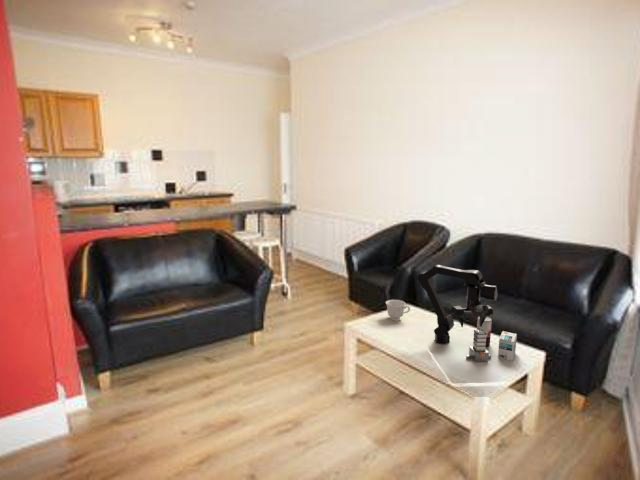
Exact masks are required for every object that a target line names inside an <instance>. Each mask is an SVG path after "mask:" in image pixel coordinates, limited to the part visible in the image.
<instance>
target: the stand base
mask: <svg viewBox="0 0 640 480" xmlns="http://www.w3.org/2000/svg"><path fill="white" fill-rule="evenodd" d="M468 348H469V349H468V351H469V352H468V354H466V355H465V359H466V360H472V361H473V363H488V362H489V360H491V359H492V355H491V354H490V351H488V350H487V349H486V351H485V352H476V351H475V350H474V349H473V345H472V346H469V347H468Z"/></svg>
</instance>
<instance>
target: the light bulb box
mask: <svg viewBox="0 0 640 480" xmlns="http://www.w3.org/2000/svg"><path fill="white" fill-rule="evenodd" d="M517 337H518V334H517V333H513V332H508V331H504V330H502V332H501V334H500V336H499V339H498V352H497V358H498V359H499V358H500V359H503V360H508V361H511V362H513V361H514V359H515V356H516V348H517Z"/></svg>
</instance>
